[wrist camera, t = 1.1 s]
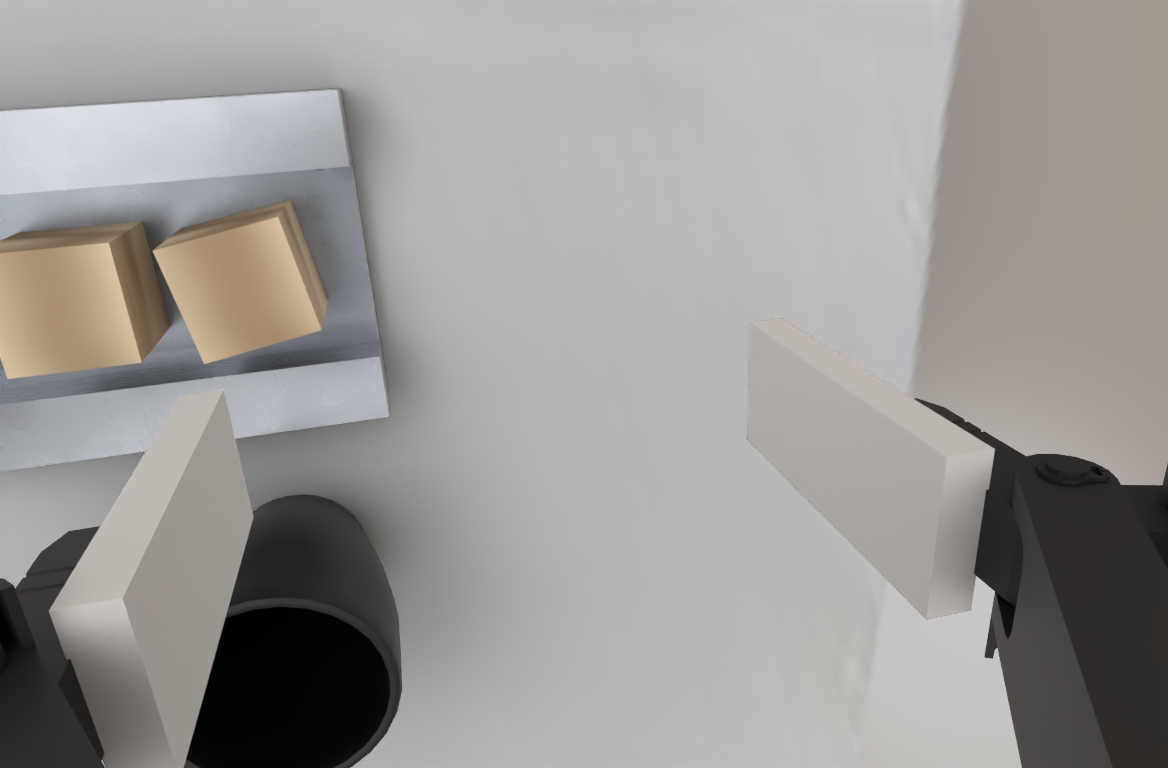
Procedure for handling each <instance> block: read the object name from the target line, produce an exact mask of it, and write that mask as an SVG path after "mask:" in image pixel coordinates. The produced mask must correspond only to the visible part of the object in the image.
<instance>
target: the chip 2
mask: <svg viewBox="0 0 1168 768" xmlns="http://www.w3.org/2000/svg"><path fill="white" fill-rule="evenodd" d="M153 253H154V255H155V258H156V260H157V262H158V264H159V266H160V268H161V271H162V273H163V275H164V277H165V279H166V282H167V284H168V286H169V288H170V290H171V293H172V295H173V297H174V299H175V301H176V304H177V306H178V308H179V310H180V312H181V314H182V317H183V319H184V321H185V323H186V325H187V328H188V330H189V332H190V334H191V336H192V339H193V341H194V343H195V345H196V347H197V350H198V352H199V354H200V356H201V358H202V361H203V363H204V364H207V363H210V362H214V361H217V360H221V359H224V358H227V357H231V356H234V355H238V354H241V353H245V352H248V351H252V350H255V349H258V348H262V347H265V346H269V345H272V344H276V343H279V342H283V341H286V340H289V339H293V338H296V337H300V336H303V335H307V334H310V333H314V332H317V331H320V330H322V326H323V321H324V316H325V312H326V307H327V302H328V299H327V296H326V294H325V291H324V288H323V286H322V283H321V280H320V278H319V275H318V272H317V270H316V267H315V264H314V262H313V259H312V256H311V254H310V251H309V248H308V246H307V243H306V240H305V238H304V235H303V232H302V230H301V227H300V224H299V222H298V219H297V216H296V214H295V211H294V208H293V206H292V203H291V200H290V199H288V200H285V201H281V202H277V203H273V204H270V205H266V206H262V207H259V208H255V209H251V210H247V211H244V212H240V213H236V214H232V215H229V216H225V217H221V218H217V219H214V220H210V221H206V222H203V223H199V224H195V225H191V226H188V227H184V228H180V229H179V230H178V231H176V232H175V233H174V234H173V235H171V236H170V237H169V238H168V239H167V240H165V241H164V242H163V243H162V244H160V245H159V246H158V247H157V248H155V249H154V250H153Z"/></svg>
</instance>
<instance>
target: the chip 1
mask: <svg viewBox="0 0 1168 768" xmlns="http://www.w3.org/2000/svg"><path fill="white" fill-rule="evenodd" d="M169 328H170V327H169V323H168V319H167V316H166V312H165V308H164V304H163V300H162V296H161V292H160V288H159V285H158V281H157V277H156V273H155V269H154V265H153V261H152V257H151V253H150V250H149V246H148V242H147V238H146V234H145V230H144V226H143V222H142V221H139V222H128V223H117V224H106V225H95V226H84V227H73V228H62V229H51V230H40V231H29V232H18V233H16V234H14V235H12V236H9V237H7V238H5V239H3V240H1V241H0V358H1V361H2V364H3V367H4V370H5V373H6V376H7V379H12V378H21V377H29V376H37V375H45V374H53V373H62V372H70V371H78V370H86V369H94V368H103V367H111V366H119V365H127V364H135V363H142V362H143V361H144V359H145V358H146V357H147V356H148V354H149V353H150V352H151V351H152V349H153V348H154V347H155V346H156V344H157V343H158V342H159V341H160V339H161V338H162V337H163V336H164V334H165V333H166V332H167V331H168V329H169Z"/></svg>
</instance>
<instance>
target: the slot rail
mask: <svg viewBox="0 0 1168 768" xmlns="http://www.w3.org/2000/svg"><path fill="white" fill-rule="evenodd" d="M288 199H290V200H291V203H292V206H293V208H294V211H295V214H296V216H297V219H298V222H299V224H300V227H301V230H302V232H303V235H304V238H305V240H306V243H307V246H308V248H309V251H310V254H311V256H312V259H313V262H314V264H315V267H316V270H317V272H318V275H319V278H320V280H321V283H322V286H323V288H324V291H325V294H326V296H327V299H328V302H327V307H326V312H325V316H324V321H323V326H322V330H320V331H317V332H314V333H310V334H307V335H303V336H300V337H296V338H293V339H289V340H286V341H283V342H279V343H276V344H272V345H269V346H265V347H262V348H258V349H255V350H252V351H248V352H245V353H241V354H238V355H234V356H231V357H227V358H224V359H221V360H217V361H214V362H210V363H207V364H204V363H203V361H202V358H201V356H200V354H199V352H198V350H197V347H196V345H195V343H194V341H193V339H192V336H191V334H190V332H189V330H188V328H187V325H186V323H185V321H184V319H183V317H182V314H181V312H180V310H179V308H178V306H177V304H176V301H175V299H174V297H173V295H172V293H171V290H170V288H169V286H168V284H167V282H166V279H165V277H164V275H163V273H162V271H161V268H160V266H159V264H158V262H157V260H156V258H155V255H154V253H153V250H154V249H155V248H157V247H158V246H159V245H160V244H162V243H163V242H164V241H165V240H167V239H168V238H169V237H170V236H171V235H173V234H174V233H175V232H176V231H178V230H179V229H180V228H184V227H188V226H191V225H195V224H199V223H203V222H206V221H210V220H214V219H217V218H221V217H225V216H229V215H232V214H236V213H240V212H244V211H247V210H251V209H255V208H259V207H262V206H266V205H270V204H273V203H277V202H281V201H285V200H288ZM139 221H142V222H143V226H144V230H145V234H146V238H147V242H148V246H149V250H150V253H151V257H152V261H153V265H154V269H155V273H156V277H157V281H158V285H159V288H160V292H161V296H162V300H163V304H164V308H165V312H166V316H167V319H168V323H169V327H170V328H169V329H168V331H167V332H166V333H165V334H164V336H163V337H162V338H161V339H160V341H159V342H158V343H157V344H156V346H155V347H154V348H153V349H152V351H151V352H150V353H149V354H148V356H147V357H146V358H145V359H144V361H143V362H142V363H135V364H127V365H119V366H111V367H103V368H94V369H86V370H78V371H70V372H62V373H53V374H45V375H37V376H29V377H21V378H12V379H7V376H6V373H5V370H4V367H3V364H2V361H1V358H0V472H3V471H10V470H17V469H24V468H32V467H39V466H46V465H53V464H60V463H67V462H74V461H81V460H88V459H95V458H102V457H109V456H116V455H123V454H130V453H137V452H145V451H146V450H147V449H148V447H149V445H150V444H151V442H152V440H153V439H154V437H155V435H156V434H157V432H158V431H159V429H160V427H161V426H162V424H163V422H164V421H165V419H166V417H167V416H168V414H169V412H170V411H171V409H172V408H173V406H174V404H175V403H176V401H177V399H178V398H179V396H180V395H185V394H193V393H201V392H209V391H217V390H224V394H225V398H226V402H227V406H228V410H229V415H230V419H231V423H232V427H233V432H234V436H235V439H236V438H243V437H251V436H258V435H265V434H272V433H279V432H286V431H293V430H300V429H307V428H314V427H321V426H328V425H335V424H342V423H349V422H356V421H364V420H371V419H378V418H385V417H389V398H388V385H387V379H386V372H385V366H384V359H383V353H382V347H381V340H380V334H379V328H378V321H377V315H376V308H375V302H374V296H373V289H372V283H371V277H370V270H369V264H368V257H367V251H366V245H365V238H364V232H363V226H362V219H361V213H360V206H359V200H358V194H357V187H356V181H355V175H354V168H353V162H352V155H351V149H350V143H349V136H348V130H347V124H346V117H345V111H344V104H343V98H342V92H341V88H333V89H317V90H301V91H285V92H270V93H254V94H238V95H222V96H207V97H191V98H175V99H160V100H144V101H128V102H112V103H97V104H81V105H65V106H49V107H34V108H18V109H2V110H0V241H1V240H3V239H5V238H7V237H9V236H12V235H14V234H16V233H18V232H29V231H40V230H51V229H62V228H73V227H84V226H95V225H106V224H117V223H128V222H139Z"/></svg>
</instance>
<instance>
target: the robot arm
mask: <svg viewBox="0 0 1168 768" xmlns="http://www.w3.org/2000/svg"><path fill="white" fill-rule="evenodd" d="M747 440H748V441H749V442H750V443H751V444H752V445H753V446H754V447H755V448H756V449H757V450H758V451H759V452H760V453H761V454H762V455H763V456H764V457H765V458H766V459H767V460H768V461H769V462H770V463H771V464H772V465H773V466H774V467H775V468H776V469H777V470H778V471H779V472H780V473H781V474H782V475H783V476H784V477H785V478H786V479H787V480H788V481H789V482H790V483H791V484H792V485H793V486H794V487H795V488H796V489H797V490H798V491H799V492H800V493H801V494H802V495H803V496H804V497H805V498H806V499H807V500H808V501H809V502H810V503H811V504H812V505H813V506H814V507H815V508H816V509H817V510H818V511H819V512H820V513H821V514H822V515H823V516H824V517H825V518H826V519H827V520H828V521H829V522H830V523H831V525H832V526H833V527H834V528H835V529H836V530H837V531H838V532H839V533H840V534H841V535H842V536H843V537H844V538H845V539H846V540H847V541H848V542H849V543H850V544H851V545H852V546H853V547H854V548H855V549H856V550H857V551H858V552H859V553H860V554H861V555H862V556H863V557H864V558H865V559H866V560H867V561H868V562H869V563H870V564H871V565H872V566H873V567H874V568H875V569H876V570H877V571H878V572H879V573H880V574H881V575H882V576H883V577H884V578H885V579H886V580H887V581H888V582H889V583H890V584H891V585H892V586H893V587H894V588H895V589H896V590H897V591H898V592H899V593H900V594H901V595H902V596H903V597H904V598H905V599H906V600H907V601H908V602H909V603H910V604H911V605H912V606H913V607H914V608H915V609H916V610H917V611H918V612H919V613H920V614H921V615H922V616H923V617H924V618H925V619H926V620H928V619H933V618H937V617H942V616H947V615H951V614H956V613H961V612H965V611H970V610H971V605H972V598H973V591H974V586H975V579H976V576H977V577H979V578H980V579H981V580H982V581H983V582H985V583H986V584H987V585H988V586H989V587H990V588H992V589H993V590H994V591H995V596H994V602H993V608H992V614H991V620H990V627H989V633H988V639H987V646H986V651H985V657H986V658H993V655H994V650H995V649H996V648H998V652H999V657H1000V662H1001V666H1002V671H1003V676H1004V681H1005V686H1006V691H1007V696H1008V701H1009V705H1010V710H1011V715H1012V720H1013V725H1014V730H1015V735H1016V740H1017V744H1018V749H1019V754H1020V760H1021V764H1022V768H1168V465H1167V469H1166V473H1165V477H1164V482H1163V485H1160V486H1159V485H1158V486H1157V485H1121V484H1120V483H1119V481H1118V479H1117V478H1116V477H1115V476H1114V475H1113V474H1112V473H1111V472H1110V471H1109V470H1107V469H1105V468H1103V467H1102V466H1099V465H1097V464H1095V463H1093V462H1090V461H1087V460H1084V459H1080V458H1077V457H1072V456H1065V455H1059V454H1036V455H1031V456H1025V455H1023V454H1021V453H1019V452H1018V451H1016V450H1015V449H1013V448H1011V447H1010V446H1008V445H1006V444H1004V443H1003V442H1001V441H999V440H998V439H996V438H994V437H993V436H991V435H989V434H988V433H986V432H981V429H979V428H978V427H976V426H974V425H973V424H971V423H969V422H965V421H964V419H963V418H961V417H959V416H958V415H956V414H954V413H953V412H951V411H949V410H948V409H946V408H944V407H941V406H938V405H935V404H932V403H929V402H926V401H923V400H920V399H917V398H915V399H913V398H911V397H910V396H908V395H906V394H905V393H903V392H902V391H900V390H898V389H897V388H895V387H893V386H892V385H890V384H889V383H887V382H885V381H884V380H882V379H880V378H879V377H877V376H876V375H874V374H872V373H871V372H869V371H867V370H866V369H864V368H863V367H861V366H859V365H858V364H856V363H855V362H853V361H851V360H850V359H848V358H846V357H845V356H843V355H842V354H840V353H838V352H837V351H835V350H833V349H832V348H830V347H829V346H827V345H825V344H824V343H822V342H820V341H819V340H817V339H816V338H814V337H812V336H811V335H809V334H807V333H806V332H804V331H803V330H801V329H799V328H798V327H796V326H795V325H793V324H791V323H790V322H788V321H786V320H785V319H783V318H779V319H771V320H763V321H755V322H749V352H748V396H747ZM253 517H254V516H253V512H252V508H251V503H250V499H249V495H248V491H247V487H246V482H245V478H244V474H243V470H242V465H241V461H240V457H239V453H238V448H237V444H236V440H235V436H234V432H233V427H232V423H231V419H230V415H229V410H228V406H227V402H226V398H225V394H224V390H217V391H209V392H201V393H193V394H185V395H180V396H179V398H178V399H177V401H176V403H175V404H174V406H173V408H172V409H171V411H170V412H169V414H168V416H167V417H166V419H165V421H164V422H163V424H162V426H161V427H160V429H159V431H158V432H157V434H156V435H155V437H154V439H153V440H152V442H151V444H150V445H149V447H148V449H147V450H146V452H145V454H144V455H143V457H142V458H141V460H140V462H139V463H138V465H137V467H136V468H135V470H134V472H133V473H132V475H131V477H130V478H129V480H128V481H127V483H126V485H125V486H124V488H123V490H122V491H121V493H120V495H119V496H118V498H117V499H116V501H115V503H114V504H113V506H112V508H111V509H110V511H109V513H108V514H107V516H106V518H105V519H104V521H103V522H102V524H101V526H100V527H93V528H87V529H80V530H74V531H69V532H67V533H66V534H65V535H63V536H62V537H61V538H59V539H58V540H57V541H55V542H54V543H53V544H51V545H50V546H49V547H47V548H46V549H45V550H43V551H42V552H41V553H40V554H39V556H38V557H37V559H36V560H35V562H34V563H33V564H32V566H31V567H30V569H29V570H28V572H27V573H26V578H23V579H22V580H21V582H20V583H19V584H18V586H17V587H16V589H15V588H14V585H12V584H11V583H9V582H8V581H6V580H5V579H1V578H0V768H184V764H185V761H186V757H187V754H188V750H189V747H190V743H191V739H192V736H193V732H194V729H195V725H196V721H197V718H198V714H199V711H200V707H201V704H202V700H203V696H204V693H205V689H206V686H207V682H208V678H209V675H210V671H211V668H212V664H213V661H214V657H215V653H216V650H217V646H218V643H219V639H220V635H221V632H222V628H223V625H224V621H225V618H226V614H227V610H228V607H229V603H230V600H231V596H232V593H233V589H234V585H235V582H236V578H237V575H238V571H239V567H240V564H241V560H242V557H243V553H244V550H245V546H246V542H247V539H248V535H249V532H250V528H251V524H252V521H253ZM102 759H103V762H104V765H105V767H104V765H103V764H102V762H101V761H102Z"/></svg>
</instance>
